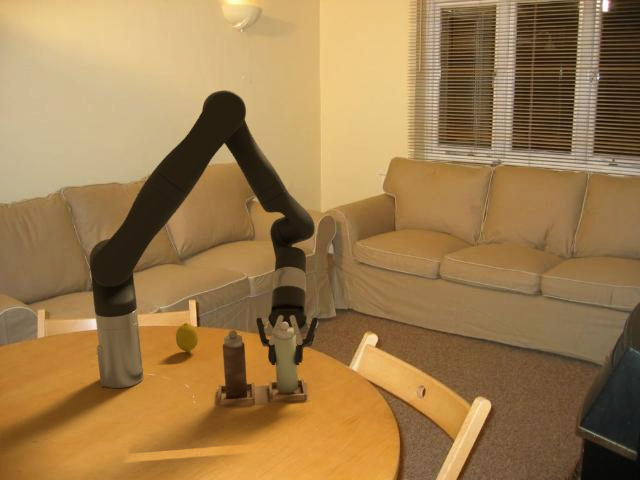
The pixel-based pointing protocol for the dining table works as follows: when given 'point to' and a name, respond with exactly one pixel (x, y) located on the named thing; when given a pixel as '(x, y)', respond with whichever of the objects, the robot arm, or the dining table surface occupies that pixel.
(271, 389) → the cruet stand
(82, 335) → the dining table surface
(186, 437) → the dining table surface
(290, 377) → the salt mill
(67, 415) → the dining table surface
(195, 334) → the lemon
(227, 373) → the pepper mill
